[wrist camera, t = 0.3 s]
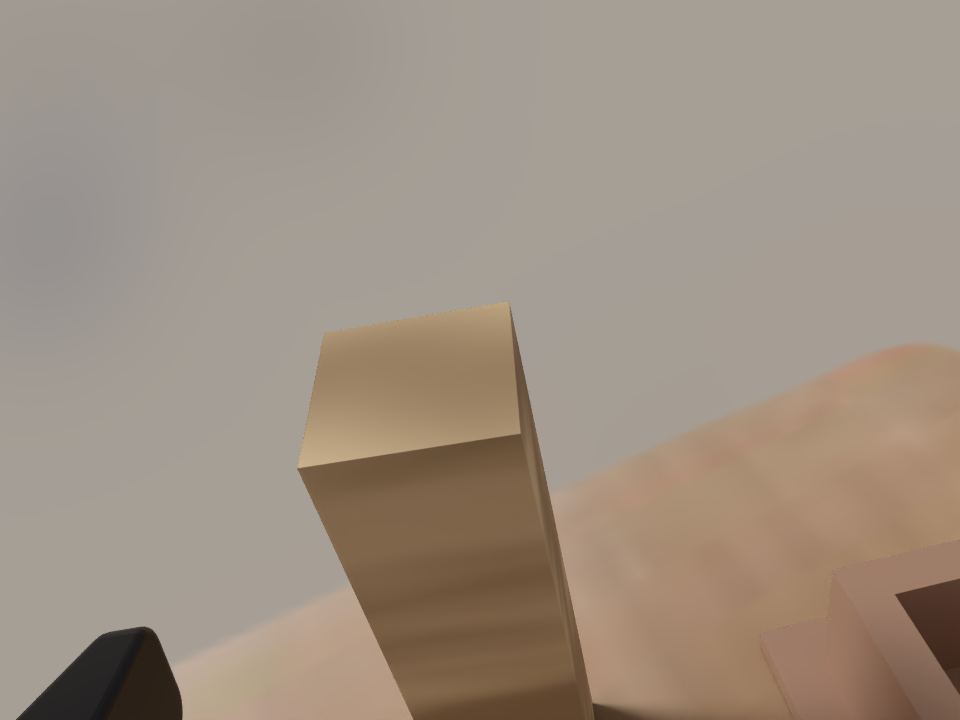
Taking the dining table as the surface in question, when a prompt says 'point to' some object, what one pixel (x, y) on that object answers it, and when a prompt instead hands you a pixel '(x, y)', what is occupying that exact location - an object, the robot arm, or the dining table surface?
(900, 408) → the dining table surface
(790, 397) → the dining table surface
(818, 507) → the dining table surface
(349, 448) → the wooden block
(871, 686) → the holder cup
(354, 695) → the dining table surface
